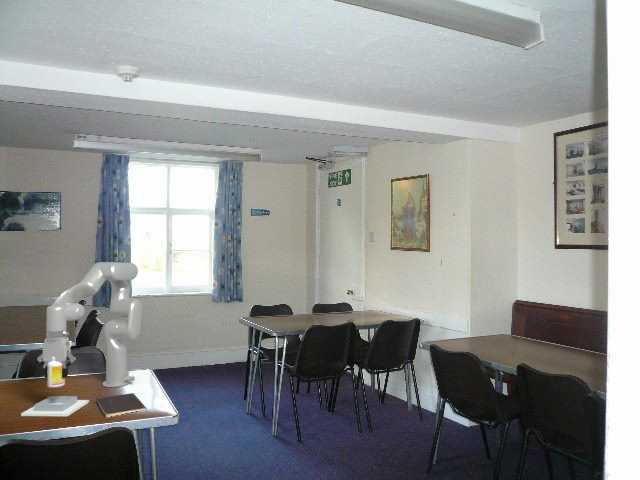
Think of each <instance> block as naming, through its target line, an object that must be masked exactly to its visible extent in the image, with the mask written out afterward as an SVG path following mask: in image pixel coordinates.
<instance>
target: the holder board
mask: <svg viewBox="0 0 640 480" xmlns="http://www.w3.org/2000/svg"><path fill="white" fill-rule="evenodd" d="M89 403H90V399H78V396H67V395H66V396H65V395H63V396H62V395H60V396H59V395H57V396H56V395H50V396H48V397H47V398H45V399H43V400H41V401H39V402H37V403H35V404H34V406H32V407H30V408H28V409H27V410H24V411H23V412H21V413H20V415H21V417H69V416H70V415H72V414H73V413H76V412H77V411H78V410H79V409H81V408H84V406H86V405H88V404H89Z"/></svg>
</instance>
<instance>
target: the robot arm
mask: <svg viewBox="0 0 640 480" xmlns="http://www.w3.org/2000/svg"><path fill="white" fill-rule="evenodd" d="M138 272H139V271H138V267H137V265H136V264H135V263H133V262H115V261H107V262H106V261H101V262H96V263H95V264H93V266H91V268H90V269H89V271H88V272H87V273H86V274H85V276H84V277H83V278H82V279H81V280H80V282H79V283H76V284H74V285H73V286H72V287H70V288H68V289H67V290H65V291H63V292H62V293H61V294H60V295H59V296H58V297H57V298H56V299H55V300H54V302H53V303H52V305H48V306H47V307H46V324H45V325H46V332H45V333H46V334H45V335H46V338H44V341H43V346H42V354H40V355H39V356H38V357H37V358H36V360H37V361H38V362H39V363H40V365H41V366H42V368H43V369H44V370H43V375H44V378H45V379H46V378H47V364H48V362H52V359H51V358H52V357H55V361H56V362H61V363H62V365H63V369H62V378H65V379H66V378H67V377H68V375H69V368H70V366H71V365H72V364H73V363H74V362H75V361H76V357H75V356H73V354H72V353H71V352H72V351H71V343H70V339H69V336H70V332H69V331H68V330H67V321H70V322H71V321H79V320H81V319H82V318H83V317H84V316H85V313H86V310H85V307H84V306H83V305H82V304H81V303H77V301H81V300H83V299H87V298H90V297H92V296H94V295H96V294H97V293H98V292H99V290H100V289H101V287H102V286H103V285H104V283H105V282H106V281H109V283H110V286H111V294H110V295H111V296H110V305H109V313H110V315H111V316H112V317H116V318H127V319H126V320H125V319H112V320H108V321H107V322H106V323H105V325H104V326H103V335H104V338H105V339H104V340H105V380H104V381H103V382H102V386H103V387H106V388H117V387H119V388H120V387H125V386H127V385H129V384H130V383H131V382H134V381H135V380H136V378H135V376H133V375H131V376H130V374H129V373H128V372H127V370H128V360H127V359H128V355H127V353H128V349H127V347H128V346H127V344H126V341H134V340H137V339H138V338H139V336H140V334H141V328H142V321H143V320H142V319H143V312H144V311H143V310H144V308H143V304H142V302H141V300H140V299H139V298H134V297H133V298H132V297H130V296H131V295H130V294H131V287H130V283H129V282H128V281H132V280H134V279H136V278H137V276H138V274H139V273H138Z"/></svg>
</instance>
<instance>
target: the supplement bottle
mask: <svg viewBox="0 0 640 480" xmlns="http://www.w3.org/2000/svg"><path fill="white" fill-rule="evenodd" d="M51 359H52V362H48V364H47V381H46V384H47V387H48V388H60V387H63V386H65V384H66V377H65V378H62V369H63V365H62V363H61V362H56V361H55V357H52V358H51Z"/></svg>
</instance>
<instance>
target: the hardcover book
mask: <svg viewBox="0 0 640 480" xmlns="http://www.w3.org/2000/svg"><path fill="white" fill-rule="evenodd" d="M96 401H97V405H98V406H99V408H100V409H101V411H102V413H103V414H104V416H105V418H110V417H111V416H112V417H117V416H116V415H118V416H122V415H121V414H124V415H126V414H125V413H130V412H135V411H140V410H145V409H146V410H147V407H146V405H144V403H143V402H142V401H141V400H140V399H139V398H138V397H137V395H136V394H135V393H133V392H131V393H126V394H125V393H124V394H117V395H112V396H105V397H98V398H96ZM130 414H131V413H130ZM112 417H111V418H112Z"/></svg>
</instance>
